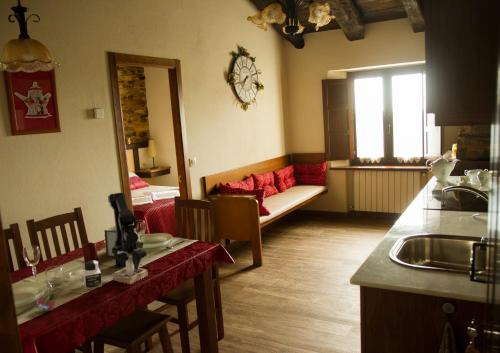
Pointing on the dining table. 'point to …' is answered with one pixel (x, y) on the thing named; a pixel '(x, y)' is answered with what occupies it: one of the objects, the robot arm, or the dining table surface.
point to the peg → (129, 268)
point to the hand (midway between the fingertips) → (129, 268)
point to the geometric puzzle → (45, 303)
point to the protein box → (110, 239)
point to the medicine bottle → (92, 275)
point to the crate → (122, 277)
